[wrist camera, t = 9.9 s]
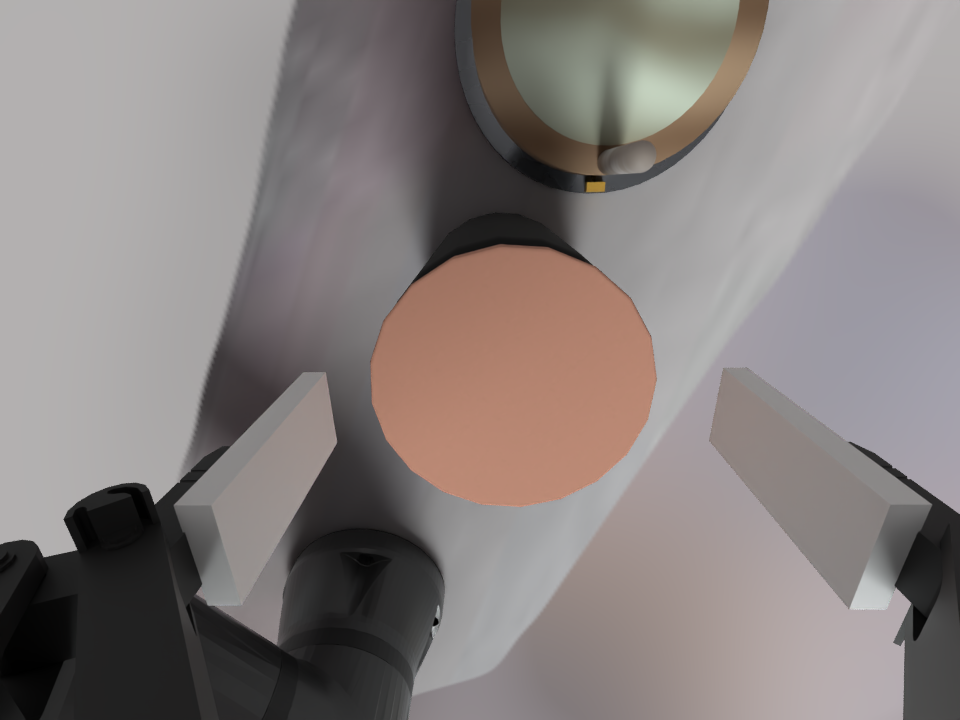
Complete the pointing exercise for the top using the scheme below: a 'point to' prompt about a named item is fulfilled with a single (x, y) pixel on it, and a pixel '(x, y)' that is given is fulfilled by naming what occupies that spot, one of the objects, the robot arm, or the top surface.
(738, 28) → the index wheel
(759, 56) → the top surface
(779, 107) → the top surface
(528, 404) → the coffee jar
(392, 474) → the top surface
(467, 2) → the wheel base
